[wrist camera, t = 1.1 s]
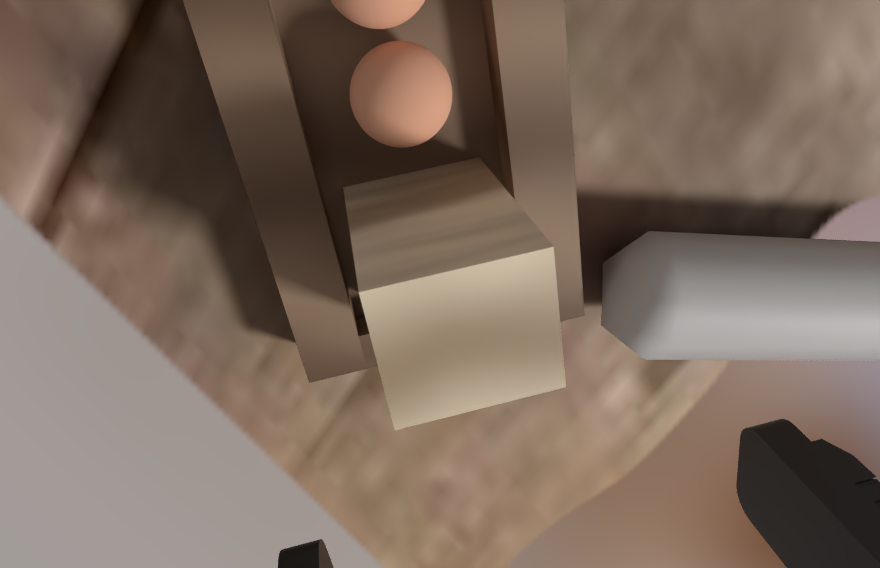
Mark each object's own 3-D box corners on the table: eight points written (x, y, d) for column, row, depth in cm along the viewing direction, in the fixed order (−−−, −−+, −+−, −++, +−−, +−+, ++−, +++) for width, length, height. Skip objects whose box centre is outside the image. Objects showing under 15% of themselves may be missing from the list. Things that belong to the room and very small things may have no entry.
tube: (603, 389, 25) (1090, 386, 30) (658, 297, 22) (1201, 310, 27) (567, 292, 29) (1007, 303, 34) (609, 198, 25) (1095, 227, 30)
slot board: (167, -96, 19) (149, -102, 17) (525, -160, 20) (552, -174, 18) (309, 347, 27) (309, 382, 24) (562, 286, 27) (584, 315, 25)
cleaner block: (343, 187, 23) (358, 292, 16) (479, 157, 23) (553, 247, 16) (370, 295, 25) (394, 430, 18) (494, 266, 25) (565, 386, 18)
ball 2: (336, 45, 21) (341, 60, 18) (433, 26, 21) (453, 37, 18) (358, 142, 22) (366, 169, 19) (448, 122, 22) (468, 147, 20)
